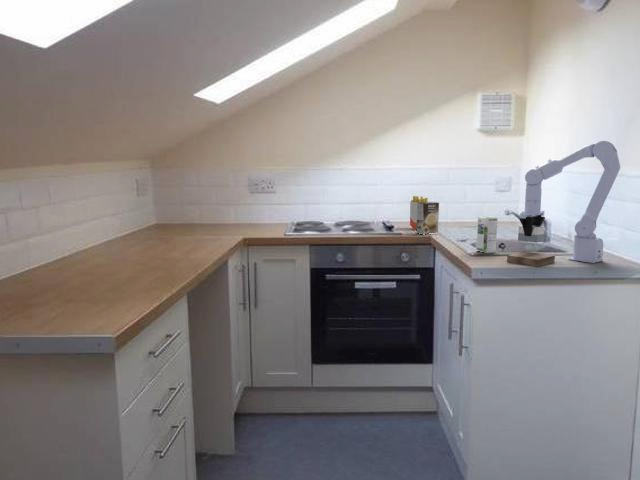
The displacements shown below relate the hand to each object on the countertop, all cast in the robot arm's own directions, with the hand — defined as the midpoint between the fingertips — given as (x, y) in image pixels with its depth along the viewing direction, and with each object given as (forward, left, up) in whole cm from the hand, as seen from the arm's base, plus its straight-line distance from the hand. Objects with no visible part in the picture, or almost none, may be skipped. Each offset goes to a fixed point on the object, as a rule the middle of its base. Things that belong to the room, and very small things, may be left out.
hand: (531, 235), depth 209 cm
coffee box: (+65, -16, -8) cm, 68 cm away
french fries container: (+78, -26, -8) cm, 83 cm away
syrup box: (+16, +6, -8) cm, 19 cm away
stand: (-7, +12, -8) cm, 16 cm away
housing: (0, 0, -2) cm, 2 cm away
